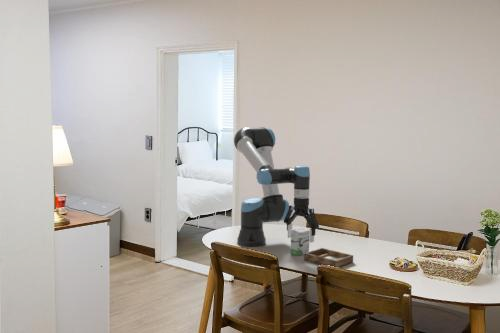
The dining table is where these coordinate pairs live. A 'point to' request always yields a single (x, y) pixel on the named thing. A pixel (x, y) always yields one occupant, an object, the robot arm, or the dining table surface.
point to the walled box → (328, 257)
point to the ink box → (299, 241)
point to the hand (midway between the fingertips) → (300, 239)
